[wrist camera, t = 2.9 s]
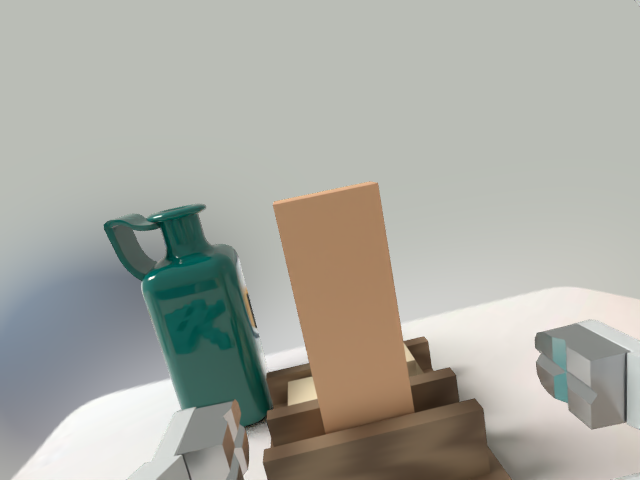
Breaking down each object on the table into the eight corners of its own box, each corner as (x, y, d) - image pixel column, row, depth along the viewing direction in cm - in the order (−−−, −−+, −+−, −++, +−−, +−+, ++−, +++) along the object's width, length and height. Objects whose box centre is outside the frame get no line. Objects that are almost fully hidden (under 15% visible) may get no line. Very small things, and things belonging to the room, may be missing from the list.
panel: (413, 448, 26) (369, 181, 21) (424, 471, 24) (378, 183, 19) (335, 467, 25) (274, 201, 21) (339, 492, 24) (273, 204, 19)
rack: (429, 375, 36) (421, 318, 34) (518, 505, 22) (510, 418, 21) (276, 411, 35) (262, 354, 33) (270, 569, 21) (244, 484, 20)
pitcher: (270, 372, 42) (223, 193, 37) (275, 420, 34) (216, 198, 29) (187, 396, 40) (128, 213, 36) (172, 452, 32) (92, 225, 27)
